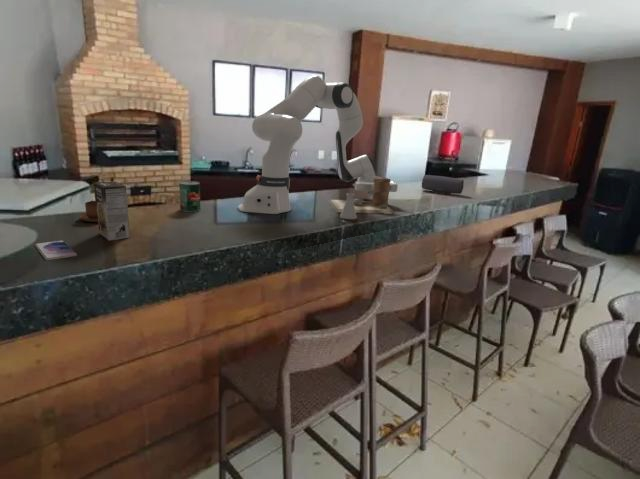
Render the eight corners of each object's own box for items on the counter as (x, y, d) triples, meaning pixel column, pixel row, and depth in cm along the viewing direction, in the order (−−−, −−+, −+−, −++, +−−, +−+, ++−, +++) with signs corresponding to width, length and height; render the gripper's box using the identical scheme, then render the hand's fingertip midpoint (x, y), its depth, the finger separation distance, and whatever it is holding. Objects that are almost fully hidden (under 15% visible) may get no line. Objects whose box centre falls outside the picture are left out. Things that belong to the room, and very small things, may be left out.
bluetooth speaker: (462, 194, 236) (465, 178, 233) (458, 196, 228) (461, 179, 225) (425, 189, 247) (427, 173, 244) (420, 191, 240) (422, 174, 237)
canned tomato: (197, 212, 156) (196, 184, 153) (177, 211, 156) (176, 183, 153) (202, 208, 164) (202, 181, 161) (183, 207, 164) (182, 180, 161)
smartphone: (63, 239, 114) (77, 254, 104) (63, 242, 114) (77, 257, 104) (33, 243, 109) (45, 258, 99) (34, 246, 110) (46, 262, 99)
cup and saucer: (76, 218, 139) (73, 201, 137) (113, 214, 146) (111, 198, 145) (83, 226, 130) (80, 207, 128) (122, 222, 138) (120, 204, 136)
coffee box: (98, 233, 123) (92, 182, 118) (120, 230, 127) (115, 180, 123) (108, 241, 117) (102, 186, 112) (130, 237, 121) (126, 185, 116)
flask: (356, 220, 158) (358, 196, 156) (338, 219, 160) (340, 194, 157) (357, 216, 165) (360, 193, 162) (340, 215, 167) (342, 191, 164)
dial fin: (354, 205, 179) (356, 178, 175) (352, 203, 183) (354, 176, 179) (388, 206, 181) (391, 179, 178) (385, 204, 185) (388, 178, 181)
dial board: (337, 212, 171) (337, 208, 171) (330, 202, 190) (330, 199, 190) (392, 213, 175) (393, 210, 174) (380, 204, 194) (380, 200, 193)
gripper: (352, 177, 191) (359, 182, 178) (392, 178, 195) (402, 183, 182) (351, 190, 193) (357, 195, 180) (391, 191, 197) (400, 197, 184)
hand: (380, 189), depth 181 cm, fingers closed
